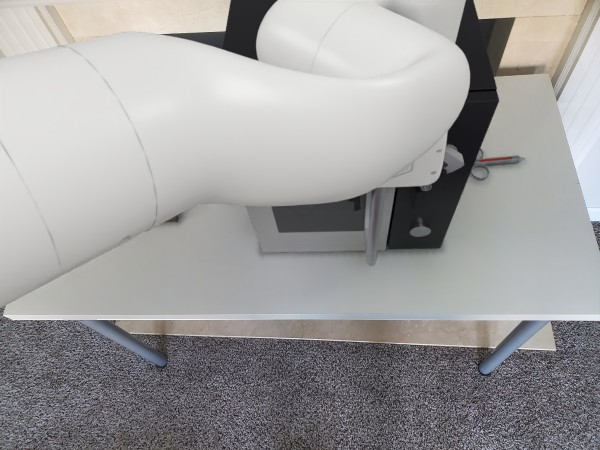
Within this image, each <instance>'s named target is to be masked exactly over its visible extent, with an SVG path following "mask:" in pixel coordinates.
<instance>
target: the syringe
mask: <svg viewBox="0 0 600 450" xmlns="http://www.w3.org/2000/svg"><path fill="white" fill-rule="evenodd" d="M479 152H481V157H479V158H476V160H475V163H474V165H473V168H472V170H471V173H470V176H471V177H473V178H474V179H475V180H479V181H484V180H486V179H487V178H489V176H490V173H491V172H490V169H489V168H488V167H487V166H497V165H507V164H517V163H520V161H523V160H526V159H528V157H526V158H525V157H522V156H521V157H520V155H510V156H498V157H497V156H496V157H485V158H484V155H485V153H484V150H483V149H482V148H480V150H479ZM477 167H481V168H484V169H485V170H486V171H487V175H486V176H484V177H478V176H477V175H475V174H474V173H473V170H474V168H477Z"/></svg>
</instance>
